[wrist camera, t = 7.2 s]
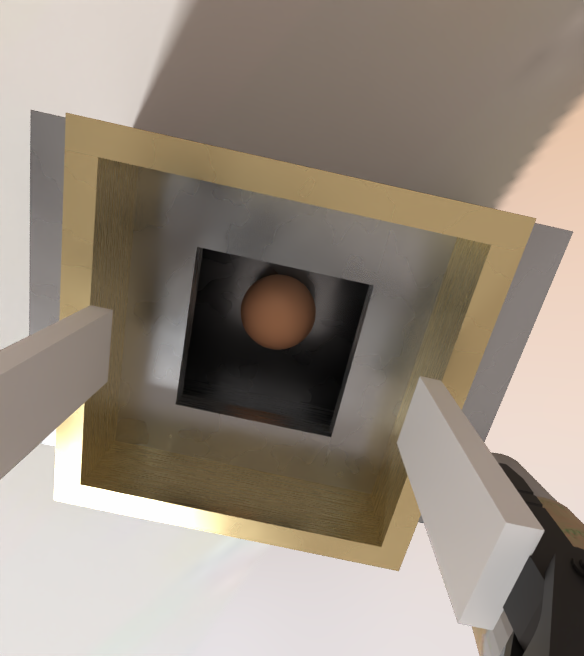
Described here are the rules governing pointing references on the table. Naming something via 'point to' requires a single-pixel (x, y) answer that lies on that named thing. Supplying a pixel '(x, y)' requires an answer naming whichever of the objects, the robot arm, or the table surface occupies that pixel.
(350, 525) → the open square box
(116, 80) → the table surface
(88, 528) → the table surface
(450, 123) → the table surface
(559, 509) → the coffee cup
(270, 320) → the ball
